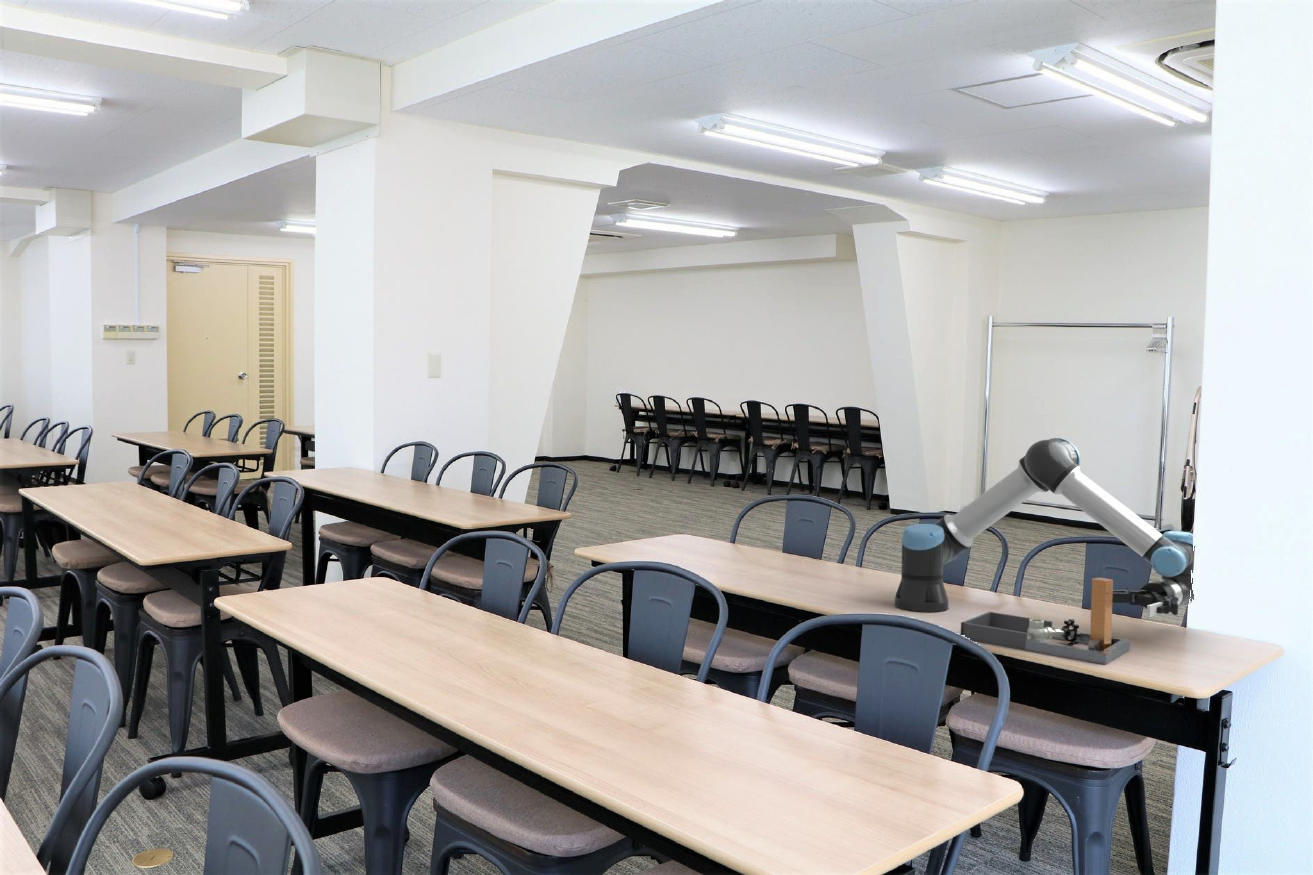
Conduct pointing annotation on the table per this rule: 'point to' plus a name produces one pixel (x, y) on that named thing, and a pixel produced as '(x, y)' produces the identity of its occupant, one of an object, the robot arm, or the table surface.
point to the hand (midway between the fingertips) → (1120, 606)
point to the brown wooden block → (1101, 614)
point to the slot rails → (1080, 649)
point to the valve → (1053, 631)
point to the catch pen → (999, 629)
